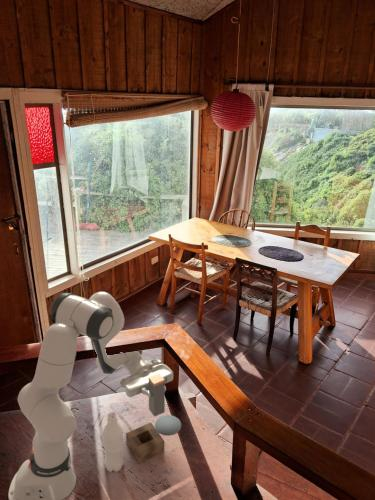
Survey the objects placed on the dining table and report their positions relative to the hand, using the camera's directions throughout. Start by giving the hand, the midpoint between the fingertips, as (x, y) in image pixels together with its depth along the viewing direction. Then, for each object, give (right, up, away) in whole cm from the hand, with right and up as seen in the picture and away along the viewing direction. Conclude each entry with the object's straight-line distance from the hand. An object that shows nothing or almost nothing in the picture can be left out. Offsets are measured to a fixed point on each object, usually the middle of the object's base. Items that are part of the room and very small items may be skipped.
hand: (157, 392), depth 156 cm
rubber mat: (+3, -20, +15) cm, 25 cm away
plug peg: (-1, -9, +4) cm, 10 cm away
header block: (-5, -24, +4) cm, 25 cm away
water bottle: (-16, -27, -3) cm, 31 cm away
